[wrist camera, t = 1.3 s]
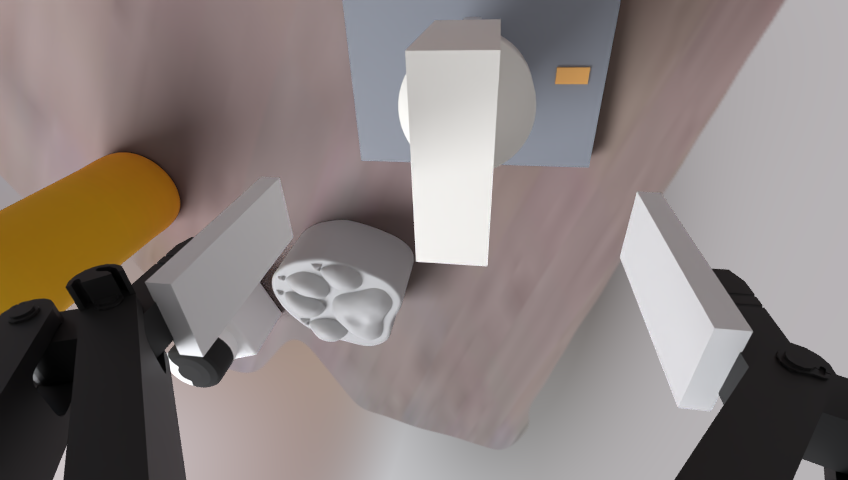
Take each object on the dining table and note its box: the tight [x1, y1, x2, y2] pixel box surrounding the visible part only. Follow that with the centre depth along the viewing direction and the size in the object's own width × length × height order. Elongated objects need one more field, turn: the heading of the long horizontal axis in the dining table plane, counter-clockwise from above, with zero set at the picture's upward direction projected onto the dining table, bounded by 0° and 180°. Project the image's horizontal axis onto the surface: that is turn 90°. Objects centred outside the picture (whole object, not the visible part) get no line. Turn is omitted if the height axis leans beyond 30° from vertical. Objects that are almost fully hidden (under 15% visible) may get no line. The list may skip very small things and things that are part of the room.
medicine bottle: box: [167, 282, 281, 387], centre depth 50 cm, size 7×7×12 cm
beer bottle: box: [0, 152, 180, 315], centre depth 36 cm, size 9×9×29 cm
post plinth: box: [342, 0, 621, 167], centre depth 32 cm, size 15×20×8 cm
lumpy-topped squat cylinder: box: [272, 220, 414, 346], centre depth 45 cm, size 10×13×9 cm
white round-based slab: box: [398, 19, 536, 266], centre depth 24 cm, size 12×8×12 cm
